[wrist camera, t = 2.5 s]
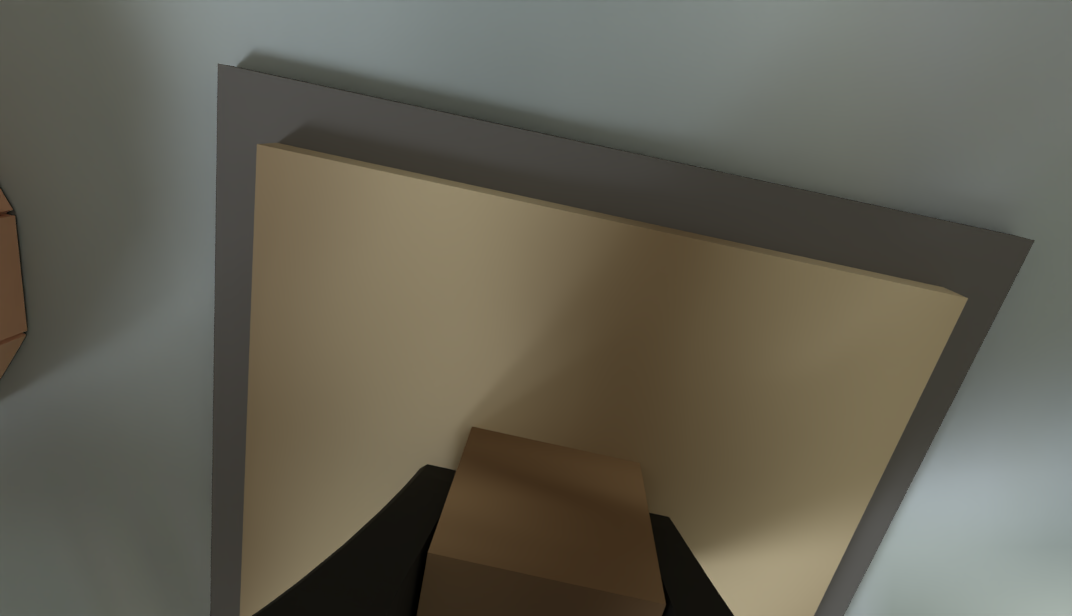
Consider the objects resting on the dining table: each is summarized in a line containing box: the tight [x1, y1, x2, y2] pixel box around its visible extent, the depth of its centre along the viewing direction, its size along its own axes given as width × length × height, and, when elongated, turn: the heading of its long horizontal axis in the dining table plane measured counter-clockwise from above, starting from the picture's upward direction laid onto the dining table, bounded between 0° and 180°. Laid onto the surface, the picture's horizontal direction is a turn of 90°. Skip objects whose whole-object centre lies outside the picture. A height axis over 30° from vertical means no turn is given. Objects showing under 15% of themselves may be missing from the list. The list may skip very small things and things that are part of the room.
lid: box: [240, 143, 968, 616], centre depth 9 cm, size 11×11×4 cm
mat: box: [210, 64, 1034, 616], centre depth 11 cm, size 13×13×1 cm
